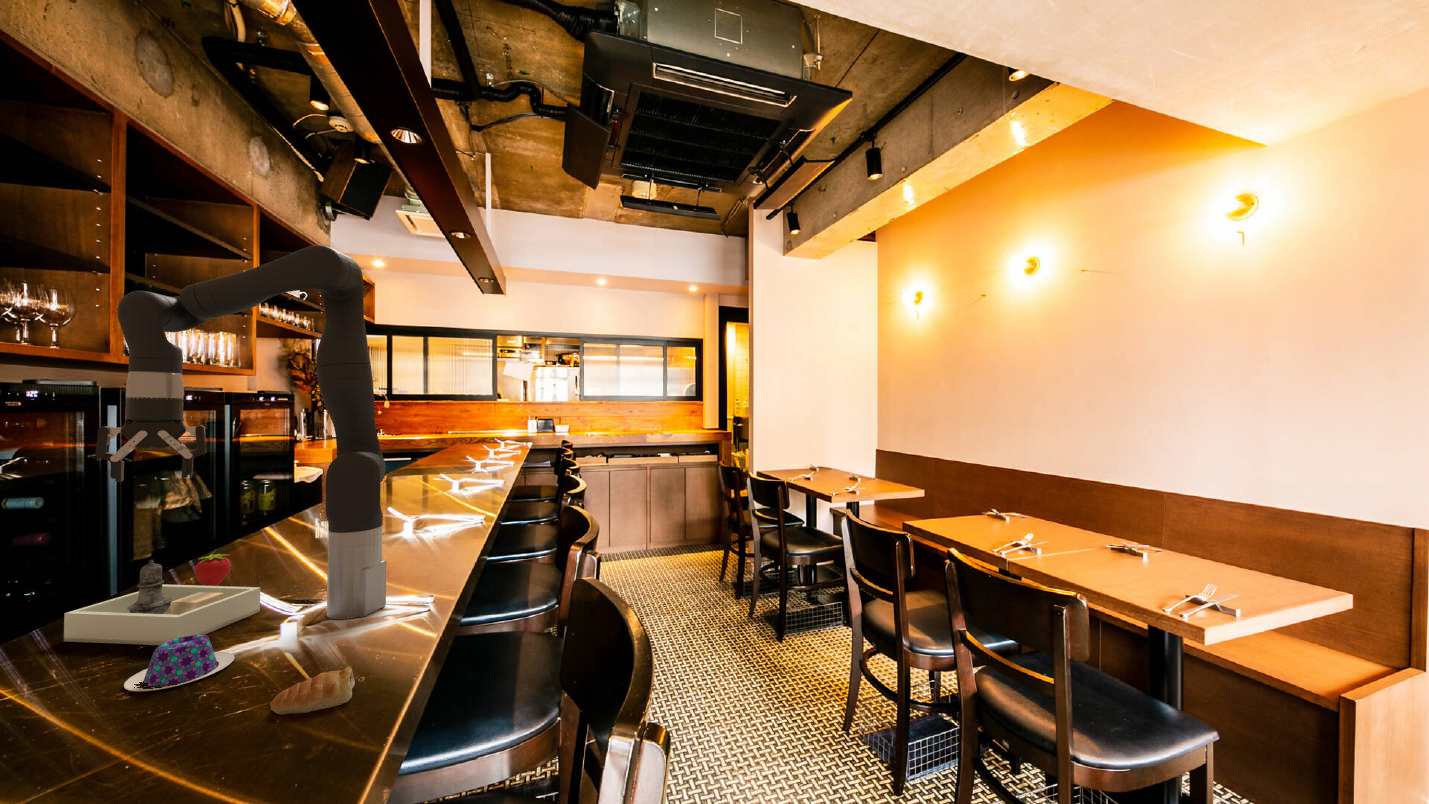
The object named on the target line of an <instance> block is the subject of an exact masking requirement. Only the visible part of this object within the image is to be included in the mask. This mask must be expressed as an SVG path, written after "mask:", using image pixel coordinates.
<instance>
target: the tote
mask: <svg viewBox="0 0 1429 804" xmlns="http://www.w3.org/2000/svg"><path fill="white" fill-rule="evenodd" d="M162 592H163V595H164V597H169V598H172V599H173V600H172V601H175V600H178V599H181V598H184V597H187V596H190V595H193V594H196V593H199V592H211V593H224V599H222V600H219V601H216V602H213V603H211V604H208V605H205V606H202V607H199V608H197V609H194V610H191V611H188V612H185V613H183V614H180V615H171V602H172V601H171V602H170V606H169V608H168V610H166V611H165V612H164V613H163V614H142V613H130V610H128V609H127V607H128V606H130V605H131V604H134V603H136V602H137V600H138V597H139V590H138V591H136V592H132V593H128V594H125V595H122V596H119V597H115V598H111V599H108V600H105V601H102V602H99V603H94V604H91V605H88V606H84V607H81V608H78V609H75V610H71V611H68V612H65V613H64V618H63V619H64V621H63V626H64V627H63V642H72V643H73V642H75V643H95V644H96V643H98V644H99V643H100V644H122V645H123V644H124V645H127V644H128V645H146V646H147V645H148V646H160V645H162V644H163V643H165V642H167V641H170V640H174V639H176V638H180V637H184V636H191V635H207V634H209V633H211V632H214V631H217V630H219V629H221V628H223V627H226V626H228V625H229V626H230V625H231V624H234V623H236V622H239V621H241V620H243V619H246V618H248V617H251V616H253V615H256V614H258V613H260V612H261V587H253V586H226V585H225V586H223V585H221V586H220V585H218V586H203V585H193V584H191V585H187V584H164V583H162Z"/></svg>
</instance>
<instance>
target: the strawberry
mask: <svg viewBox="0 0 1429 804" xmlns="http://www.w3.org/2000/svg"><path fill="white" fill-rule="evenodd" d="M215 552H216V550H214V551H213V552H212V553H210V555H207V556H201V557H200V558H198V560H201V561H199V562H198V563H197V564H196V565H195V567H194V574H195V577H196V580H197V581H198V582H199V583H200V584H201V586H220V584H222V582H223V581H224V579H225V578H227V576H228V574H229V572H230V569H231V568H232V567H231V566H232V565H231V561H230V559H229V558H227V556H229V557H230V554H222V553H217V554H214V553H215Z"/></svg>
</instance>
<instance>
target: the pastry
mask: <svg viewBox="0 0 1429 804" xmlns="http://www.w3.org/2000/svg"><path fill="white" fill-rule="evenodd" d="M355 682H356V681H355V678H354V672H353V668H352V667H350V666H346V667H345V668H344V669H342V670H330V671H326V672H321V673H319V674H317V675H315V676H314V677H309V678H307V679H305V680H304V681H301V682H298V683H295V684H294V685H292V686H289V687H288V688H286V689H283V690H281V691H280V692H279V693H278V694H277V695H276V696H274V698H273V699H272V700H271V701H270V704H269V705H270V709H271V711H272V712H274V713H275V714H278V715H282V716H283V715H288V714H305V713H306V714H307V713H311V712H314V711H319V710H325V709H328V708H333V707H337V706H340V705H343V704H346V703H348V702H349V701H350V700H351V699H352V697H353V688H354V687H355Z"/></svg>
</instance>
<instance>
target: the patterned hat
mask: <svg viewBox="0 0 1429 804" xmlns="http://www.w3.org/2000/svg"><path fill="white" fill-rule="evenodd" d="M234 660H235V655H234V654H233V653H232V652H228V651H227V652H226V651H214V648H213V646H212V643H211V639H210V637H209V636H208V635H207V634H205V635H191V636H184V637H180V638H176V639H174V640H170V641H167V642H165V643H163V644H162V645H158V647H156V648H155V649H154V651H153V653H152V656H151V658H150V662H149V664H148V667H147V668H146V669H142V670H141V671H139V672H137V673H135V674H134V675H132V676H130V677H129V678H128V679H126V681H125V682H124V684H123V687H124V689H125V690H128V691H131V692H149V691H151V692H152V691H156V690H157V691H158V690H163V689H169V688H173V687H178V686H182V685H185V684H189V683H192V682H195V681H198V680H200V679H204V678H206V677H208V676H211V675H213V674H215V673H217V672H219V671H221V670H223V669H225V668H226V667H228V666H229V665H231V664H232V662H233V661H234ZM217 664H218V665H217ZM205 673H206V674H205ZM139 682H142V683H143V682H144V683H148V684H146V686H147V685H148V686H153V687H152V688H153V689H143V688H137V687H140V686H136V685H134V684H140V683H139ZM144 683H143V684H144ZM172 684H174V685H172ZM175 684H177V685H175ZM159 685H160V686H161V687H162V688H155V686H156V687H160V686H159ZM168 685H169V686H168ZM148 686H147V687H148ZM134 687H135V688H134Z"/></svg>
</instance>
